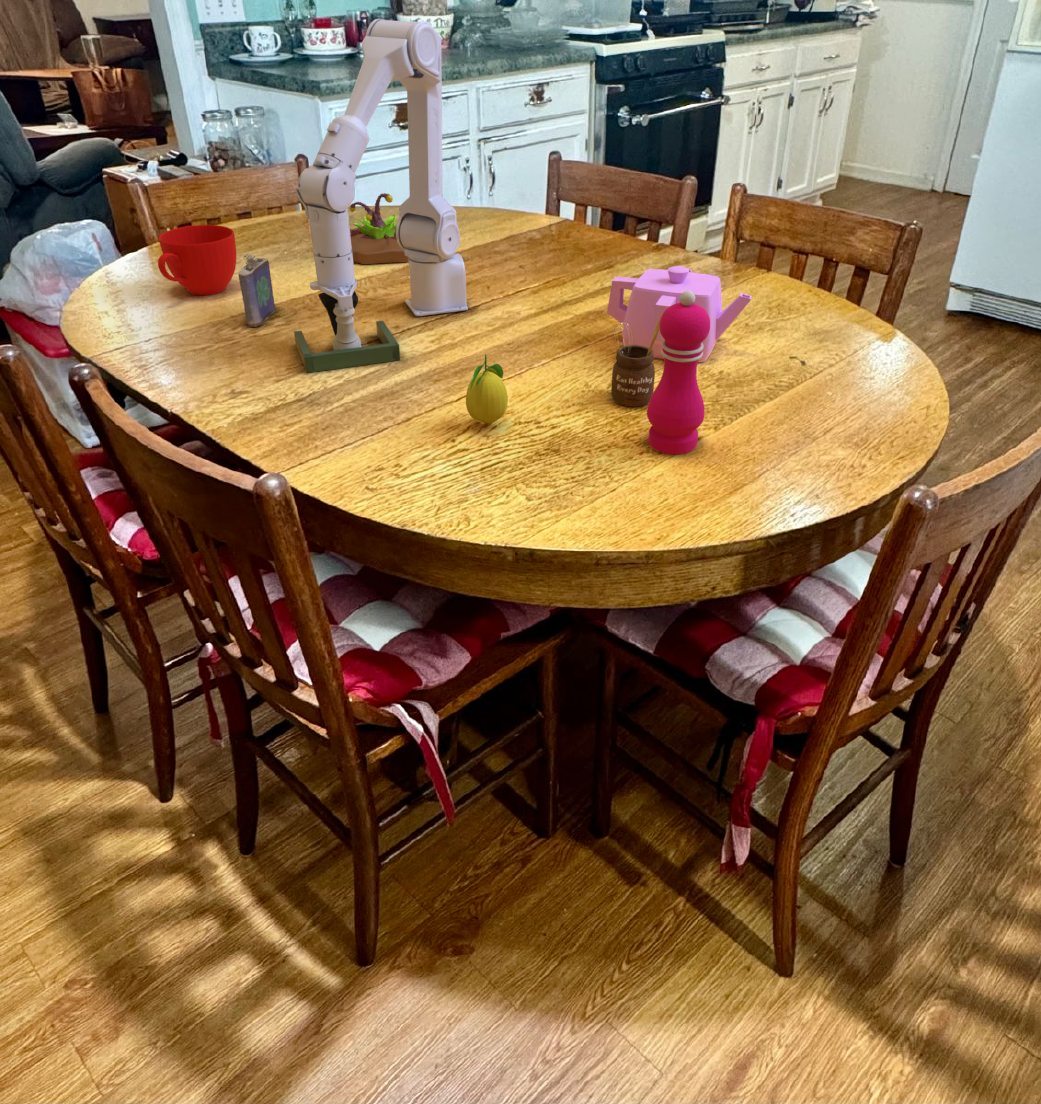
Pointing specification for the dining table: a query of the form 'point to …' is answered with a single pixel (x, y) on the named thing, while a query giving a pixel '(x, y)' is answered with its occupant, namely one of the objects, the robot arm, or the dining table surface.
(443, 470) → the dining table surface
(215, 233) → the ceramic cup
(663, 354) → the pepper mill
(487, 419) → the lemon
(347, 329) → the rook chess piece
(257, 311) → the flask
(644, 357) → the utensil holder
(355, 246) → the plant
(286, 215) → the dining table surface
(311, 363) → the bay
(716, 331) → the teakettle
